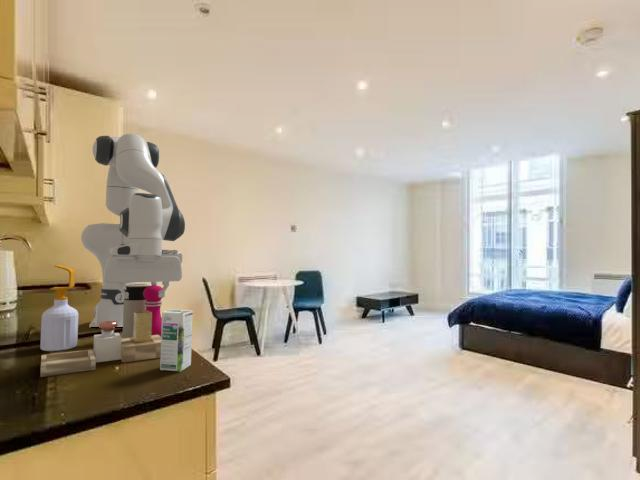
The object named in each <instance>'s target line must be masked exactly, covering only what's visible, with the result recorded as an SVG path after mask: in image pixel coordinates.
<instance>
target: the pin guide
mask: <svg viewBox="0 0 640 480" xmlns="http://www.w3.org/2000/svg"><path fill="white" fill-rule="evenodd" d="M101 335H102V333H101V334H94V335H93V349H92V351H93V353H94V356H95V359H96V363H103V362H109V361H110V362H111V361H118V360H121V342H122V336H121V335H122V334H120V333H119V332H114V337H107V338H101Z"/></svg>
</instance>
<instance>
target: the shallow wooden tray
mask: <svg viewBox="0 0 640 480" xmlns="http://www.w3.org/2000/svg"><path fill="white" fill-rule="evenodd" d="M40 359H41V360H40V371H39V372H40V376H39V377H40V378H44V377H51V376H52V377H53V376H58V375H65V374H67V375H68V374H74V373H80V372H89V371H95V370H96V366H97V365H96V364H97V362H96V359H95V356H94V353H93V349H92V348H91V349H84V350H76V351H75V350H74V351H68V352H67V351H66V352H56V353H47V354H41V358H40Z"/></svg>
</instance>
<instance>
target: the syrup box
mask: <svg viewBox="0 0 640 480" xmlns="http://www.w3.org/2000/svg"><path fill="white" fill-rule="evenodd" d="M193 315H194V309H193V310H191V309H189V310H188V309H167V310H165V311H163V312H162V313H161V318H162V331H161V357H160V358H159V370H160V371H169V372H170V371H171V372H179V373H180V372H182V371H184V370H185V369H187V368H189V367H190V366H192V348H193V346H192V344H193V343H192V341H193V317H194V316H193Z"/></svg>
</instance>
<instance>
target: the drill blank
mask: <svg viewBox="0 0 640 480" xmlns="http://www.w3.org/2000/svg"><path fill="white" fill-rule="evenodd" d="M151 330H152V312H150V311H137V312H134V327H133V343H143V342H151Z"/></svg>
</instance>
